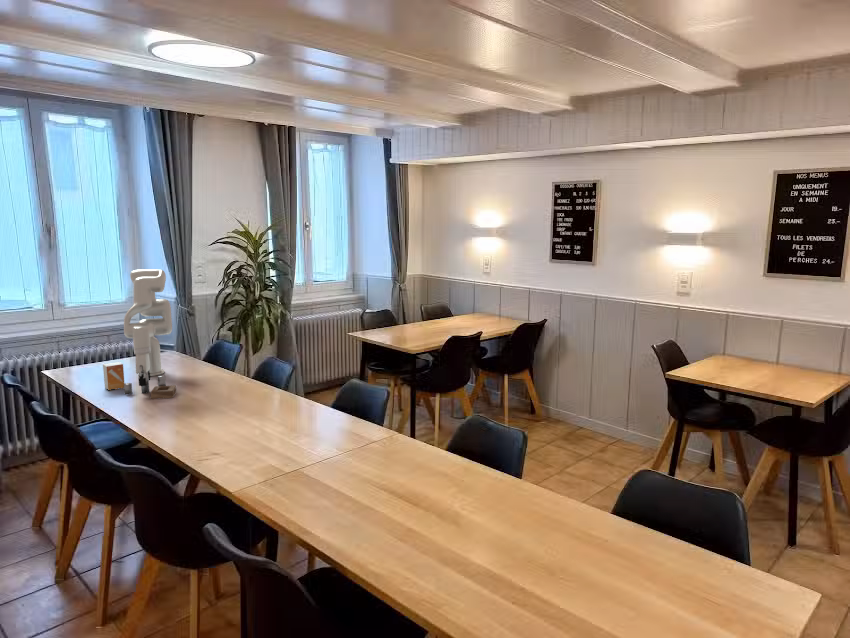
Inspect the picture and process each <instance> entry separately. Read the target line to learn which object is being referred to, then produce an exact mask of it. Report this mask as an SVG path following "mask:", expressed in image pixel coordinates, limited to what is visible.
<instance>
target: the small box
mask: <svg viewBox="0 0 850 638" xmlns="http://www.w3.org/2000/svg"><path fill="white" fill-rule="evenodd" d="M102 371H103V382H104V389H105V388H106V389H105V390H107V389H108V390H110V391H112V390H111V389H115V390H119V389H118V388H121V389H124V384H125V383H126V382H125V371H124V363H122V362H121V361H117V362H110V363H104V364H102ZM108 390H107V391H108Z"/></svg>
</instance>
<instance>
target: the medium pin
mask: <svg viewBox="0 0 850 638" xmlns="http://www.w3.org/2000/svg"><path fill="white" fill-rule="evenodd" d="M157 386H167V383H166V375H157Z"/></svg>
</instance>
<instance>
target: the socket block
mask: <svg viewBox="0 0 850 638" xmlns="http://www.w3.org/2000/svg"><path fill="white" fill-rule="evenodd" d="M176 393H177V384H174V385H173V384H172V385H166V386H158V385H157V386H156V385H155V386H154V387H153V388H152V390H151V391H150V399H151V400H157V398H160V399H173V398H174V397H175V395H176Z"/></svg>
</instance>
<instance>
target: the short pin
mask: <svg viewBox="0 0 850 638" xmlns="http://www.w3.org/2000/svg"><path fill="white" fill-rule="evenodd" d="M124 383H125V384H124V388H123V390H124V391H123V392H124V393H125V394H124V395H126V394H128V395H132V394H133V384H132V383H131V382H124ZM131 393H132V394H131Z"/></svg>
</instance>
